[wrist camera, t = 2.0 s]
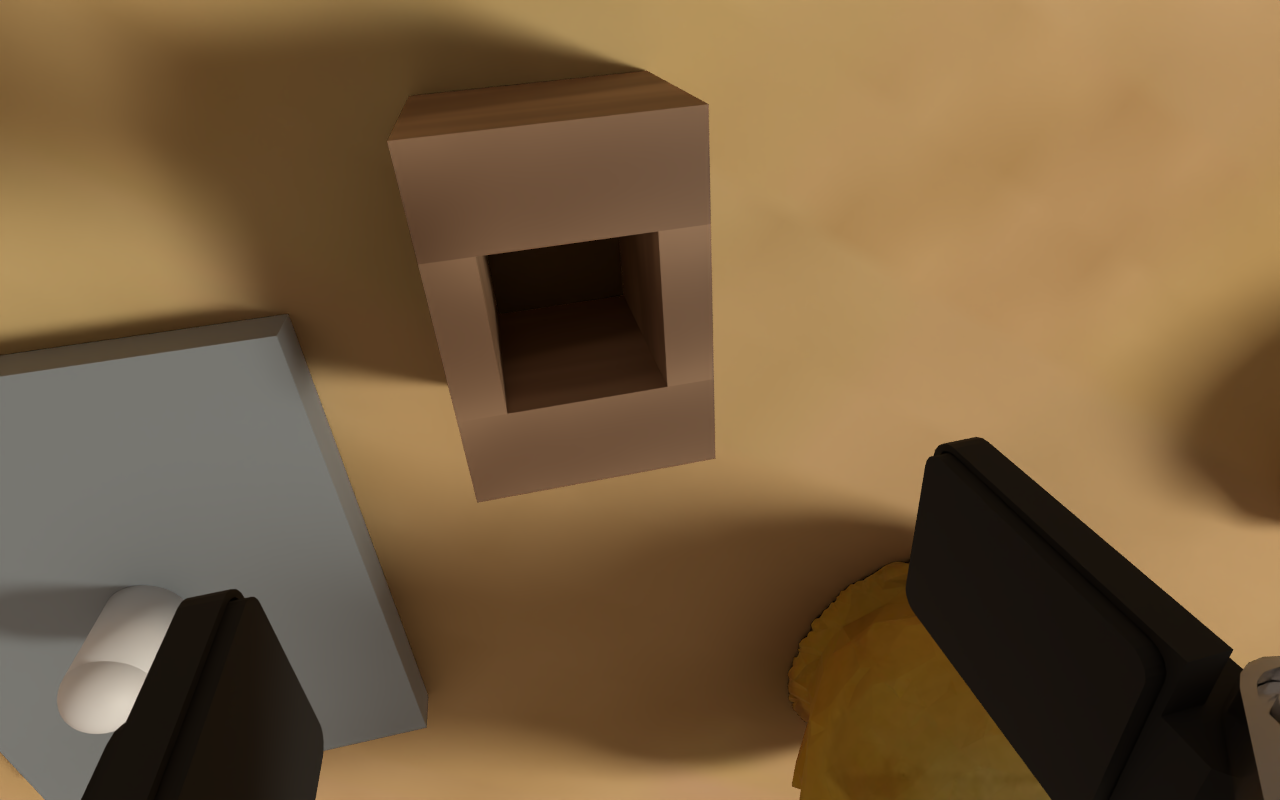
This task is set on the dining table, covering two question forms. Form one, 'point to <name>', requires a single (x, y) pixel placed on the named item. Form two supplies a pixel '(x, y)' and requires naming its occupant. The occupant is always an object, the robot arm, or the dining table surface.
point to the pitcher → (893, 709)
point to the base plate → (179, 537)
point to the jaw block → (555, 215)
